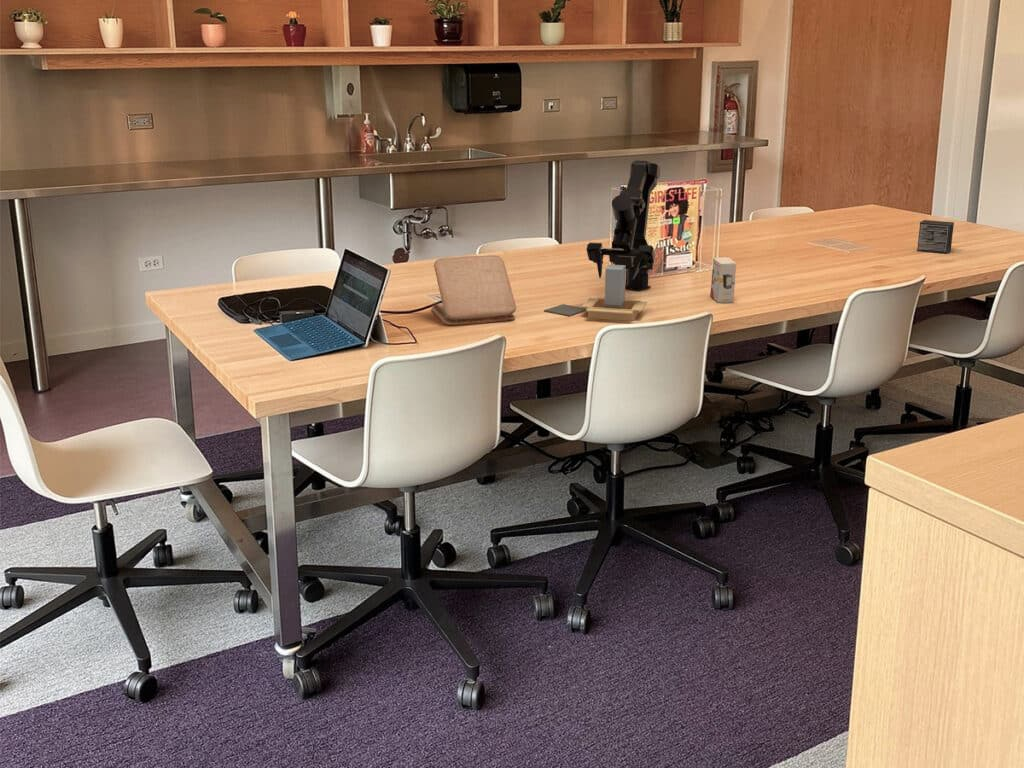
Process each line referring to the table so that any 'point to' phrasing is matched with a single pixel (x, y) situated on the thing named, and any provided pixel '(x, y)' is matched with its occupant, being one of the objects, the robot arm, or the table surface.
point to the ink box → (723, 280)
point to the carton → (599, 311)
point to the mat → (566, 310)
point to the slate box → (615, 286)
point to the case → (473, 290)
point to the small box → (935, 236)
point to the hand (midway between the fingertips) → (616, 278)
